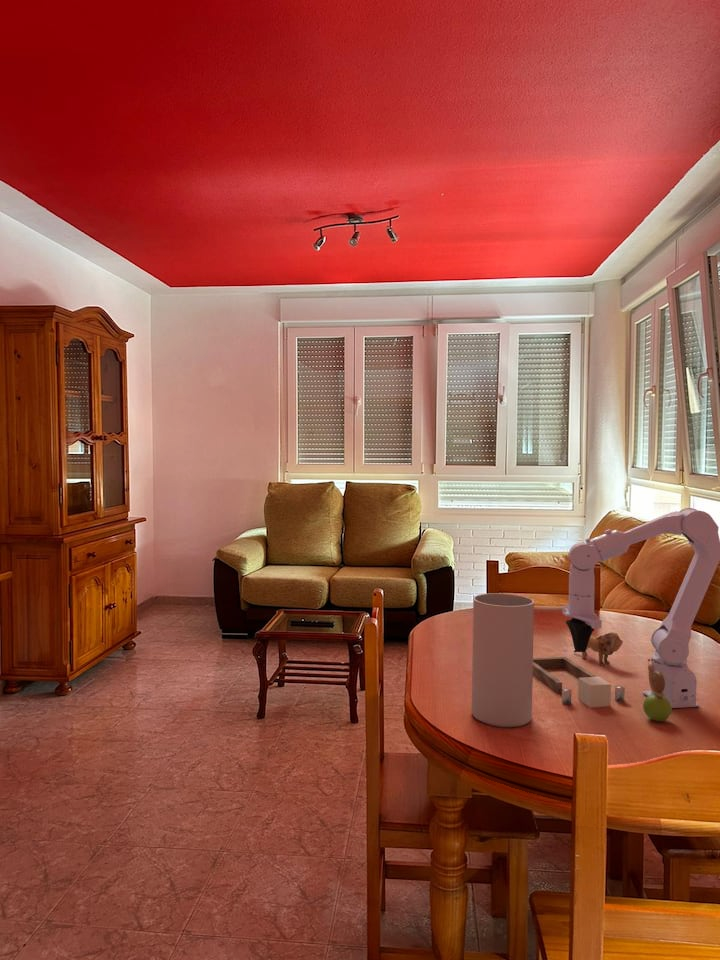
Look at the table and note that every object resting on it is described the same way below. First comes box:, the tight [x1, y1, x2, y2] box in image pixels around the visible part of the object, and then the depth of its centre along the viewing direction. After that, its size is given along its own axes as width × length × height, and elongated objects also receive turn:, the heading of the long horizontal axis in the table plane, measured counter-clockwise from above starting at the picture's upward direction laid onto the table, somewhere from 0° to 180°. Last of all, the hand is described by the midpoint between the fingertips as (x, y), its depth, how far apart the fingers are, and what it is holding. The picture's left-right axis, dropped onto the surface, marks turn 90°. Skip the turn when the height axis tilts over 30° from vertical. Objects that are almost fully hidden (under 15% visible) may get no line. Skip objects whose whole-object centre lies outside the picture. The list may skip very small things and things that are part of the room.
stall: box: [533, 656, 597, 694], centre depth 159 cm, size 18×11×2 cm, turn 10°
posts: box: [561, 685, 626, 706], centre depth 144 cm, size 2×15×3 cm, turn 100°
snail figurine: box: [642, 658, 673, 722], centre depth 135 cm, size 5×6×12 cm
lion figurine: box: [573, 632, 624, 667], centre depth 174 cm, size 15×5×9 cm, turn 33°
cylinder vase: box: [471, 592, 535, 728], centre depth 135 cm, size 12×12×25 cm
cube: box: [577, 676, 612, 708], centre depth 144 cm, size 5×5×5 cm
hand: (580, 651), depth 151 cm, fingers closed
